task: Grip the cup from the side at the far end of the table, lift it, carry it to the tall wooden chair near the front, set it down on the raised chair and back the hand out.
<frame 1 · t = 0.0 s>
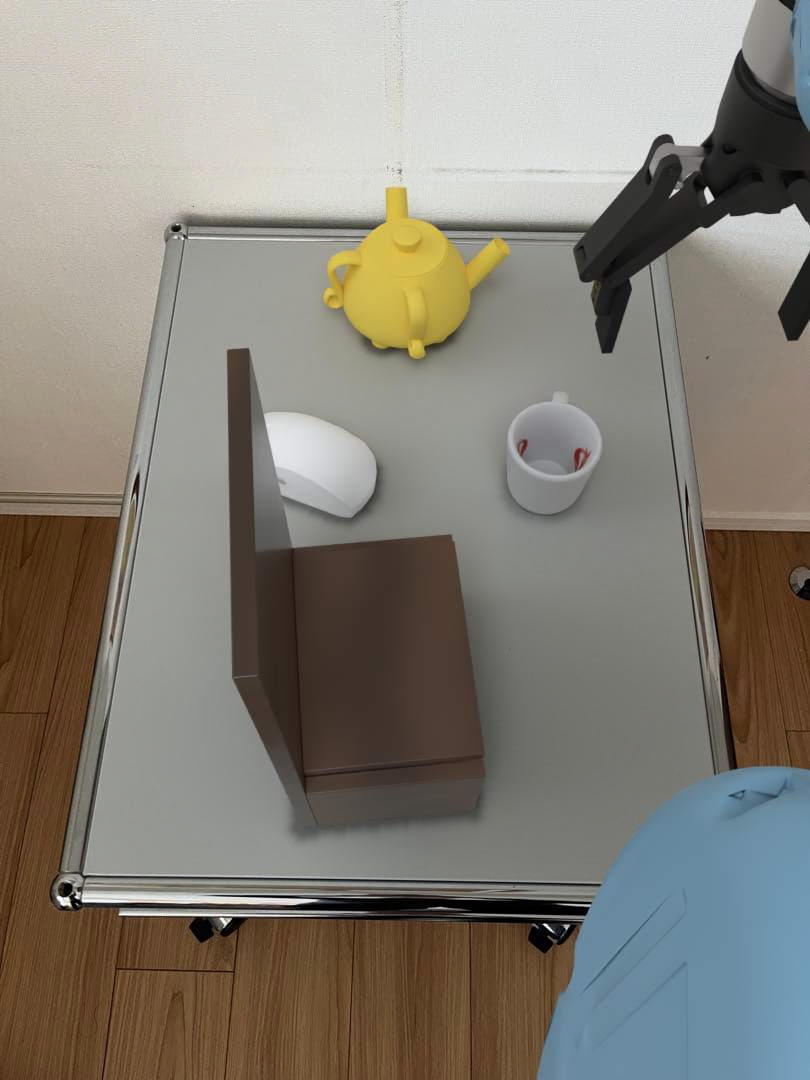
hand: (695, 332, 68), 20 cm above the table, tool pointing down, fingers open, 13 cm apart
teapot: (413, 310, 95), on the table
cup: (544, 476, 86), on the table
wooden chair: (385, 702, 76), on the table
computer mouse: (308, 475, 86), on the table
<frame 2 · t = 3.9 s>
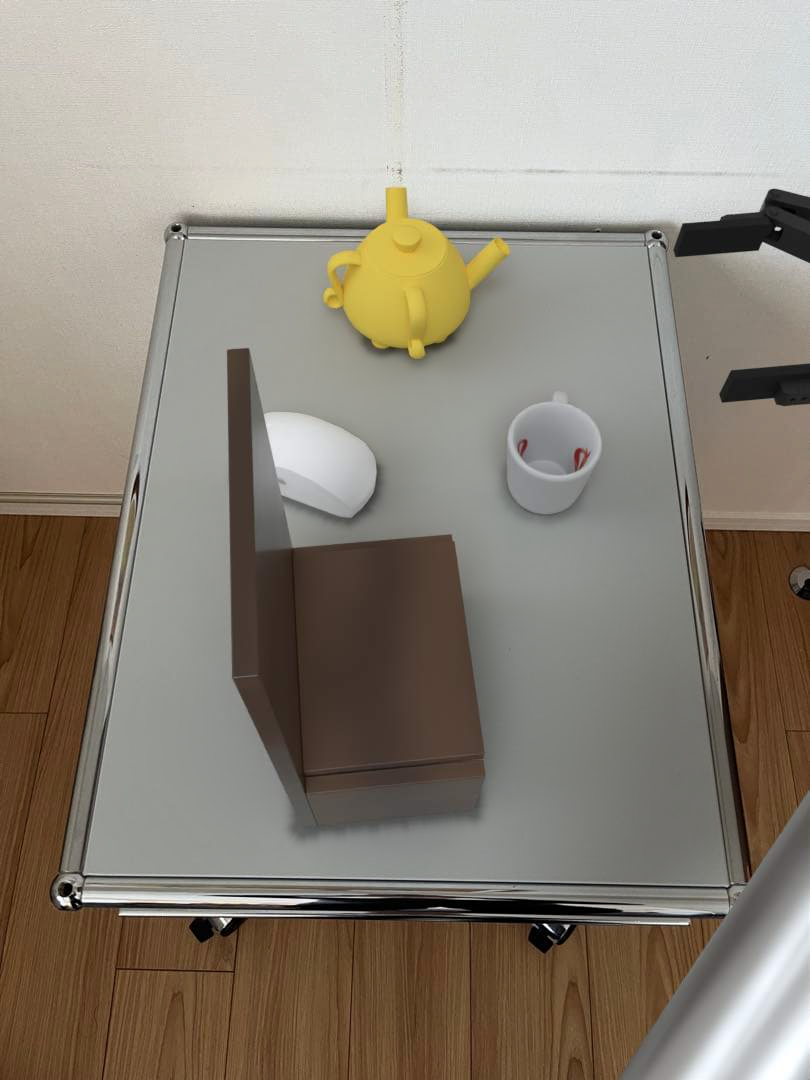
hand: (700, 310, 67), 21 cm above the table, tool horizontal, fingers open, 13 cm apart
nothing on the table moved.
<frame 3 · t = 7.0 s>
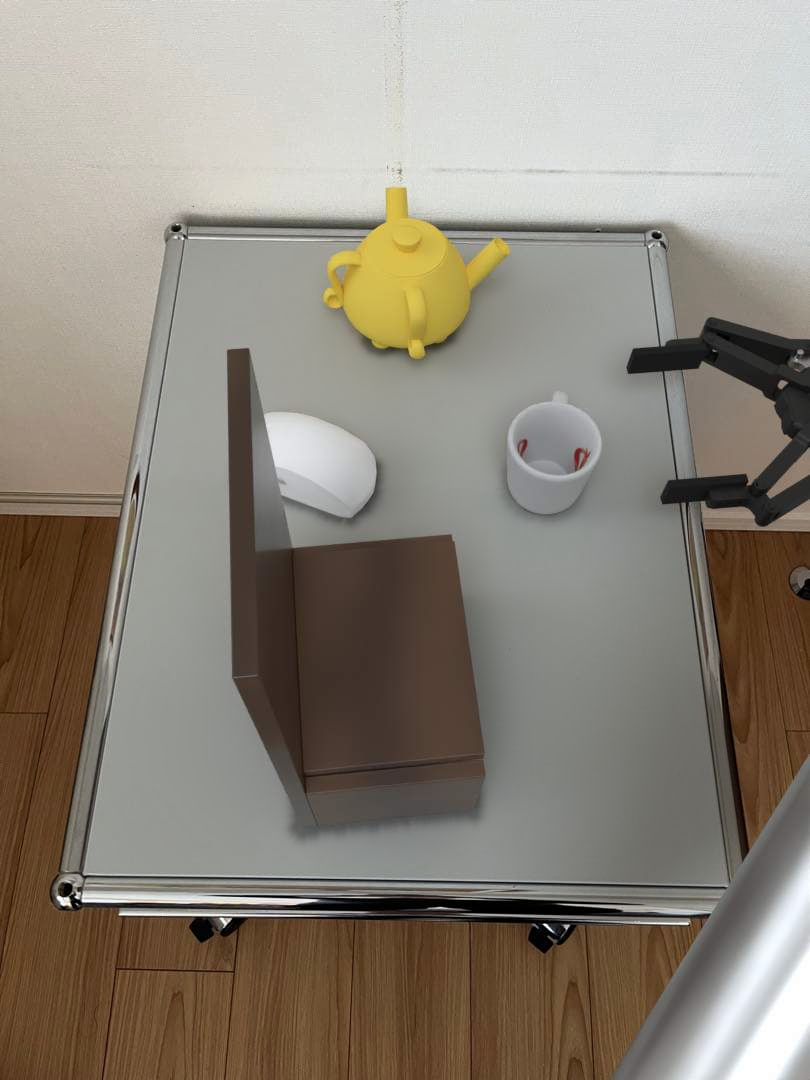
hand: (646, 424, 80), 7 cm above the table, tool horizontal, fingers open, 13 cm apart
nothing on the table moved.
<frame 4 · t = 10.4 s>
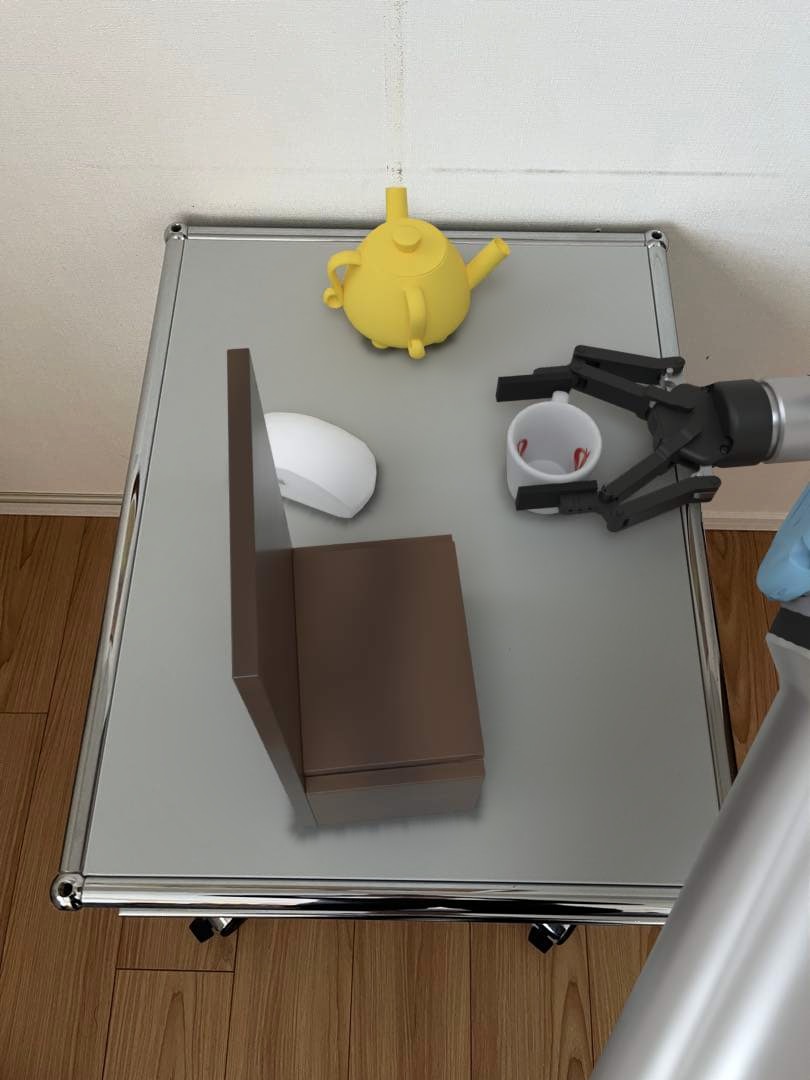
hand: (506, 442, 80), 6 cm above the table, tool horizontal, fingers closed on cup, 10 cm apart
cup: (544, 476, 86), on the table, touching gripper
everything else where it was.
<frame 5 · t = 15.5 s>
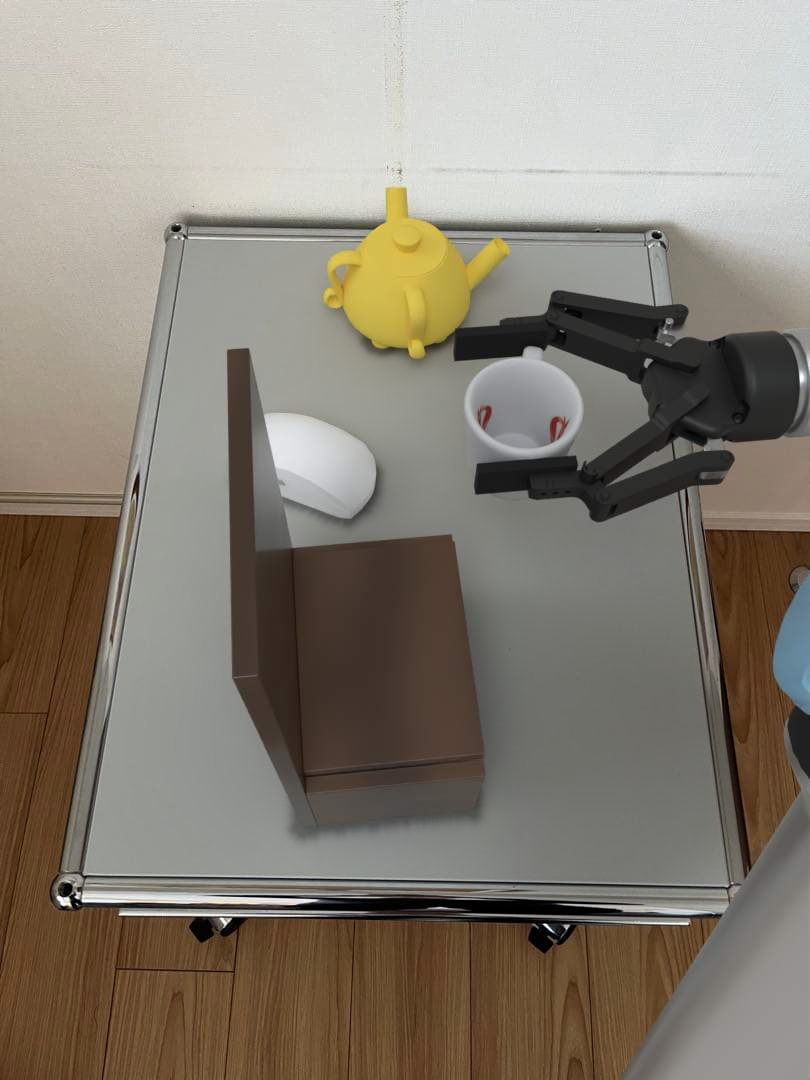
hand: (464, 409, 64), 21 cm above the table, tool horizontal, fingers closed on cup, 10 cm apart
cup: (514, 453, 70), point 15 cm above the table, touching gripper
everything else where it was.
when the fingers open (18 cm above the table, at t = 20.6 s): cup stays where it is, resting on wooden chair.
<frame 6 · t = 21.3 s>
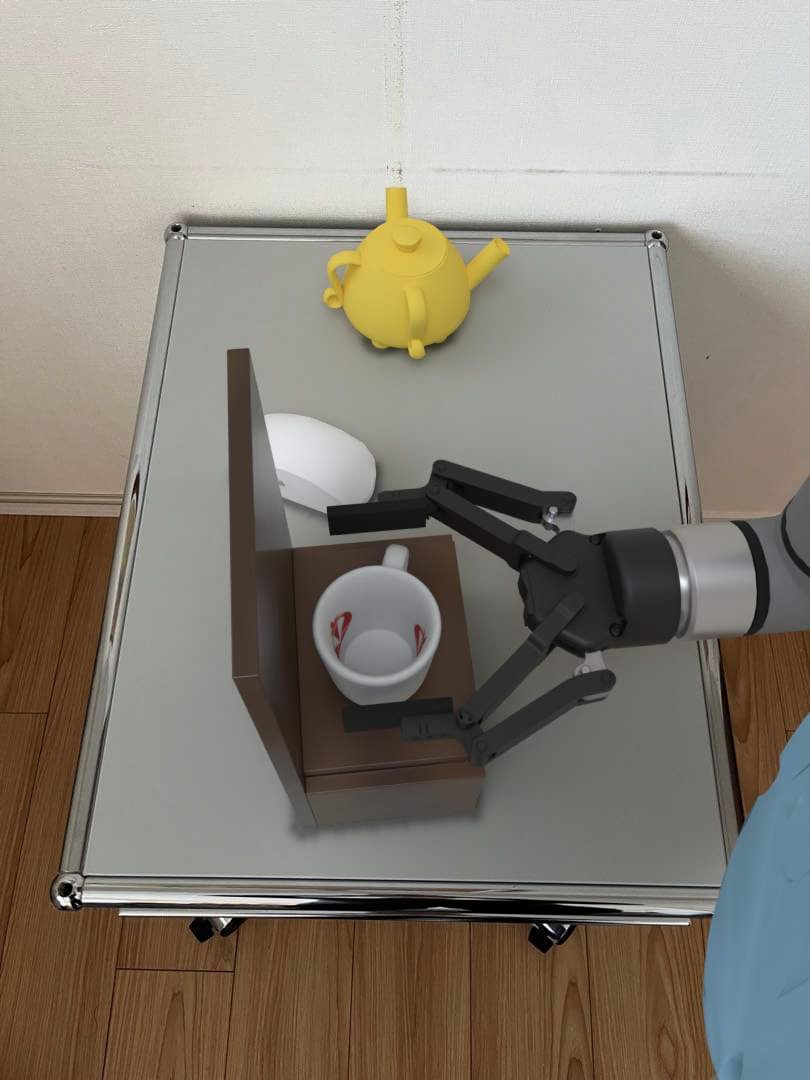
hand: (334, 615, 59), 19 cm above the table, tool horizontal, fingers open, 13 cm apart
cup: (383, 649, 65), point 12 cm above the table, touching wooden chair
everything else where it was.
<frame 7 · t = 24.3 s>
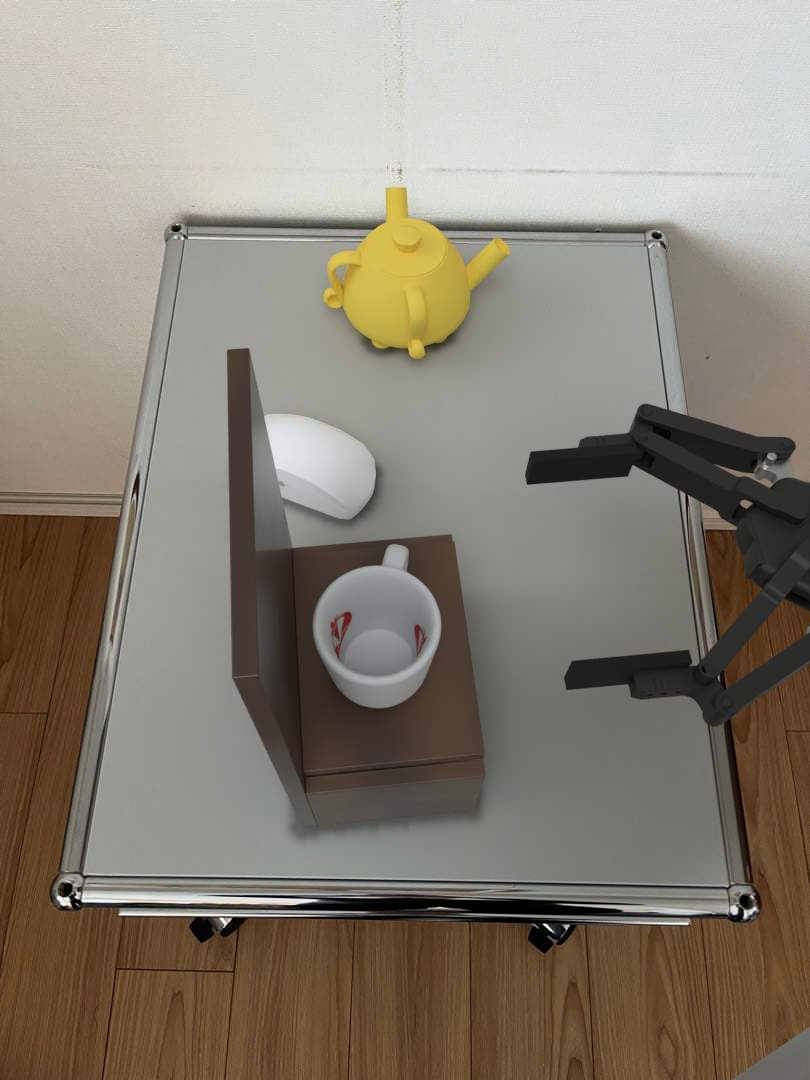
hand: (546, 566, 55), 24 cm above the table, tool horizontal, fingers open, 13 cm apart
nothing on the table moved.
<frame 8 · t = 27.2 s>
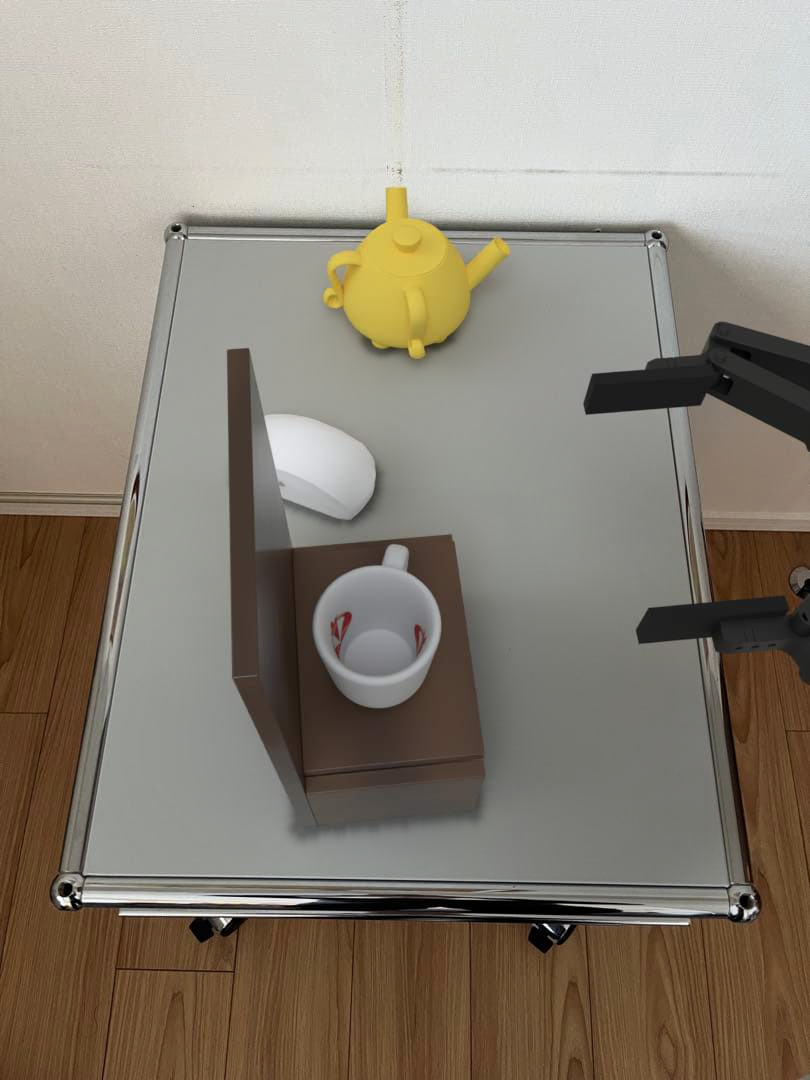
hand: (613, 502, 48), 32 cm above the table, tool horizontal, fingers open, 13 cm apart
nothing on the table moved.
at the end: cup inside the target area on the wooden chair (0.1 cm from its centre), point 11.8 cm above the wooden chair's base; cup tilted 0°; the gripper is holding nothing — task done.
